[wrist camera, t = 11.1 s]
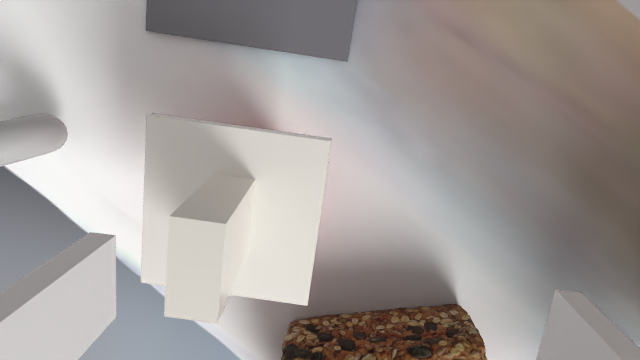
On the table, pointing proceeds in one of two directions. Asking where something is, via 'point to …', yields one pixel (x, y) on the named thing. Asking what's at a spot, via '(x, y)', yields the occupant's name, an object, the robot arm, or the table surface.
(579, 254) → the table surface
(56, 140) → the donut
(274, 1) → the mat
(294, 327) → the bread
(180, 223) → the lid
